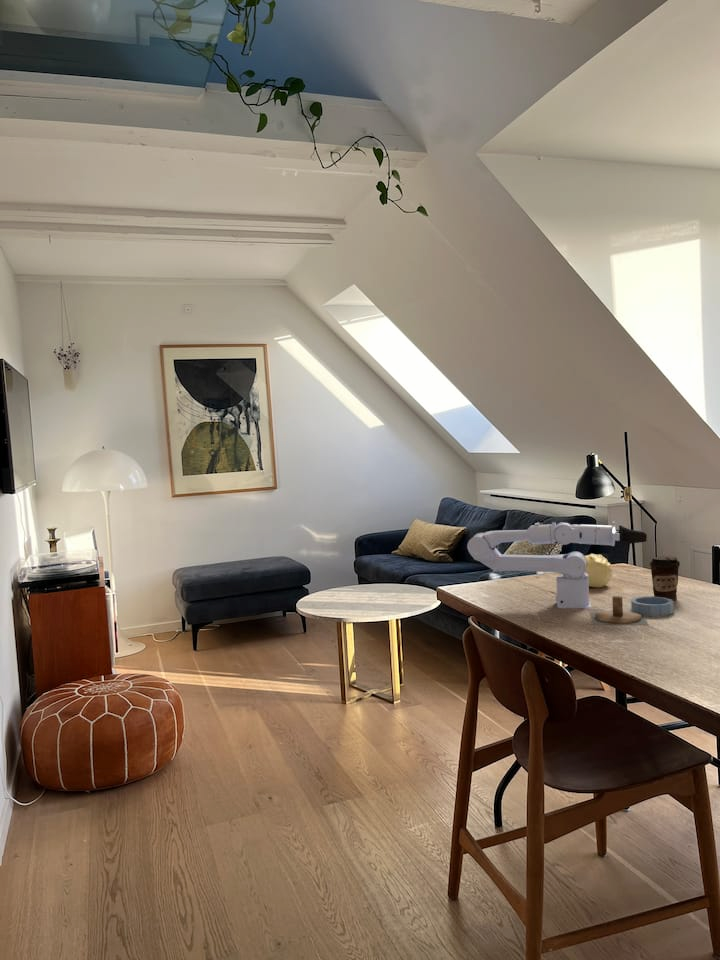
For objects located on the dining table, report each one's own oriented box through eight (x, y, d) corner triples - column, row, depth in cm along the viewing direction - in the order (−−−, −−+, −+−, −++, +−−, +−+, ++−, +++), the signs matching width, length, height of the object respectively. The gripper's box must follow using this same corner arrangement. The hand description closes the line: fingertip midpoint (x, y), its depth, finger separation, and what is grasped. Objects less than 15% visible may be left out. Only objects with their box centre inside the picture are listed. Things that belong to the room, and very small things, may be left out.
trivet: (593, 626, 204) (593, 624, 204) (589, 613, 218) (589, 611, 218) (648, 626, 201) (648, 625, 201) (641, 613, 215) (641, 612, 215)
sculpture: (612, 590, 247) (611, 556, 246) (573, 589, 251) (572, 556, 250) (612, 582, 258) (611, 550, 257) (575, 582, 261) (574, 550, 261)
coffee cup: (683, 604, 223) (682, 560, 223) (653, 604, 225) (652, 560, 224) (677, 597, 232) (676, 555, 231) (648, 597, 234) (647, 555, 233)
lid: (596, 623, 205) (596, 602, 205) (593, 612, 217) (592, 592, 216) (644, 624, 202) (643, 602, 202) (638, 613, 214) (637, 592, 214)
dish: (634, 617, 211) (633, 605, 211) (629, 608, 222) (628, 596, 222) (676, 618, 209) (676, 605, 208) (669, 608, 219) (669, 596, 219)
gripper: (596, 521, 217) (647, 524, 213) (596, 520, 231) (644, 522, 227) (595, 546, 217) (646, 549, 213) (595, 543, 231) (643, 545, 227)
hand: (645, 536), depth 220 cm, fingers open, 7 cm apart
